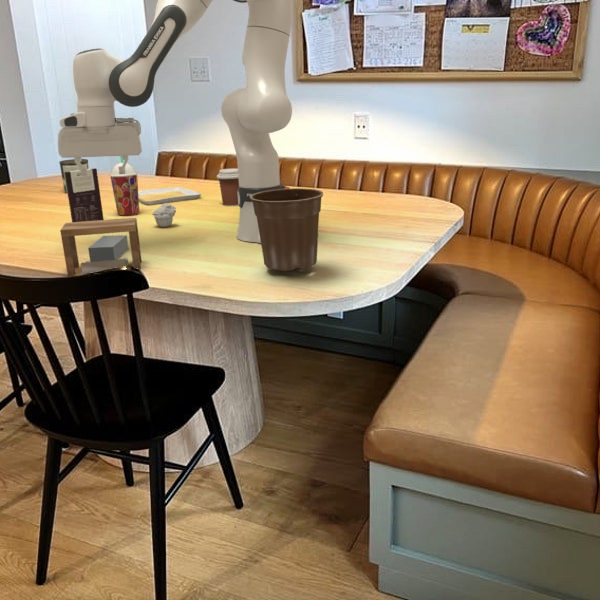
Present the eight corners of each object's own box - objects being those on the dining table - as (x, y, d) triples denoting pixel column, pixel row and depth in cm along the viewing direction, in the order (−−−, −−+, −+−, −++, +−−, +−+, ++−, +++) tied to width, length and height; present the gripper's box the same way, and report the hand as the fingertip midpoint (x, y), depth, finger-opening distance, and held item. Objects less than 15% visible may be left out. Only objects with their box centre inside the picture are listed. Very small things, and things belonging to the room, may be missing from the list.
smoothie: (147, 216, 204) (140, 152, 197) (124, 220, 198) (116, 155, 192) (133, 213, 209) (125, 151, 203) (110, 217, 204) (102, 154, 197)
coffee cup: (248, 206, 214) (246, 170, 210) (222, 209, 211) (219, 172, 207) (241, 201, 222) (239, 167, 218) (216, 204, 219) (213, 169, 215)
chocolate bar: (103, 230, 187) (95, 168, 181) (105, 230, 186) (96, 168, 180) (74, 235, 181) (64, 172, 175) (75, 236, 180) (65, 172, 174)
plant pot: (242, 271, 141) (237, 199, 136) (271, 252, 155) (267, 187, 150) (310, 276, 136) (308, 201, 130) (334, 256, 150) (332, 188, 144)
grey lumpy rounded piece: (178, 228, 185) (175, 204, 183) (153, 230, 184) (150, 206, 182) (177, 224, 191) (175, 201, 188) (153, 226, 190) (151, 202, 187)
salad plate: (203, 202, 226) (203, 192, 225) (147, 210, 215) (146, 200, 214) (179, 194, 243) (178, 185, 242) (125, 202, 232) (124, 192, 231)
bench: (72, 266, 150) (65, 222, 147) (141, 260, 153) (136, 217, 149) (67, 275, 143) (60, 230, 139) (140, 269, 146) (134, 224, 142)
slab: (105, 250, 164) (103, 235, 163) (128, 250, 164) (126, 235, 163) (90, 263, 153) (88, 247, 152) (115, 263, 153) (112, 247, 152)
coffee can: (59, 199, 241) (53, 161, 236) (82, 194, 249) (76, 158, 244) (76, 201, 235) (70, 162, 231) (98, 196, 243) (93, 159, 238)
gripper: (140, 117, 163) (145, 171, 167) (57, 119, 160) (64, 174, 164) (138, 118, 157) (144, 174, 161) (52, 120, 154) (60, 177, 158)
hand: (103, 174), depth 163 cm, fingers open, 8 cm apart
